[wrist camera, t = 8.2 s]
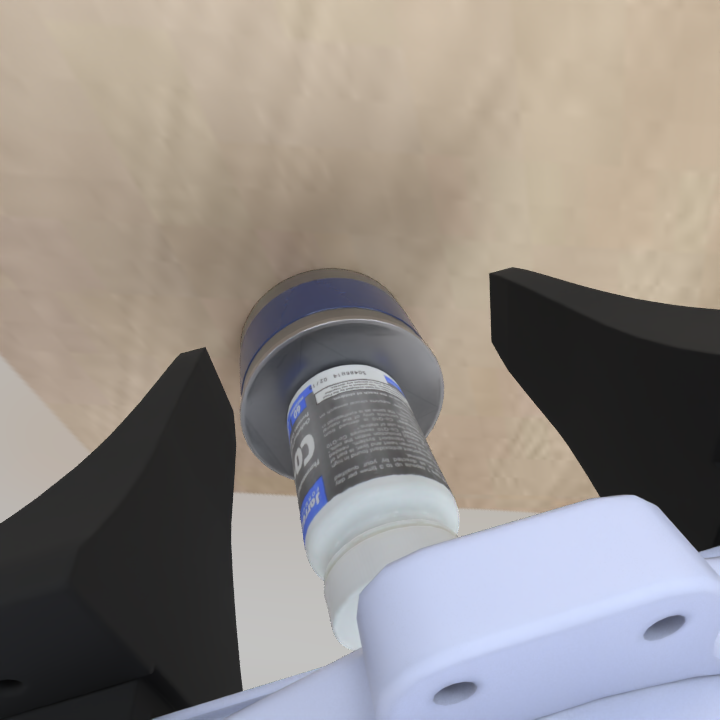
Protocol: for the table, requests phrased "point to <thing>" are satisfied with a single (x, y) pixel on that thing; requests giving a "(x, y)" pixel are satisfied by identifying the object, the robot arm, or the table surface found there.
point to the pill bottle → (362, 484)
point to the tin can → (326, 353)
